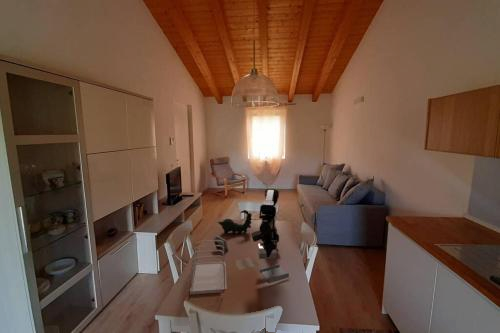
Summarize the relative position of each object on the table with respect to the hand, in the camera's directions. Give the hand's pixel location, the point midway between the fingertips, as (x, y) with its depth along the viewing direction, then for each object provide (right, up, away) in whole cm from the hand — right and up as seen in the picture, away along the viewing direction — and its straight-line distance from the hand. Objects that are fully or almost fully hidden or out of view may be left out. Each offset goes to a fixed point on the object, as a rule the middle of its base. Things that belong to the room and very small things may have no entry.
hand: (267, 254), depth 131 cm
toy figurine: (-21, -3, +53) cm, 57 cm away
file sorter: (-31, -12, -3) cm, 33 cm away
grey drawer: (0, -1, 0) cm, 1 cm away
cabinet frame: (+4, -11, 0) cm, 12 cm away
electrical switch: (-27, -8, +26) cm, 38 cm away
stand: (-12, -10, +9) cm, 18 cm away
